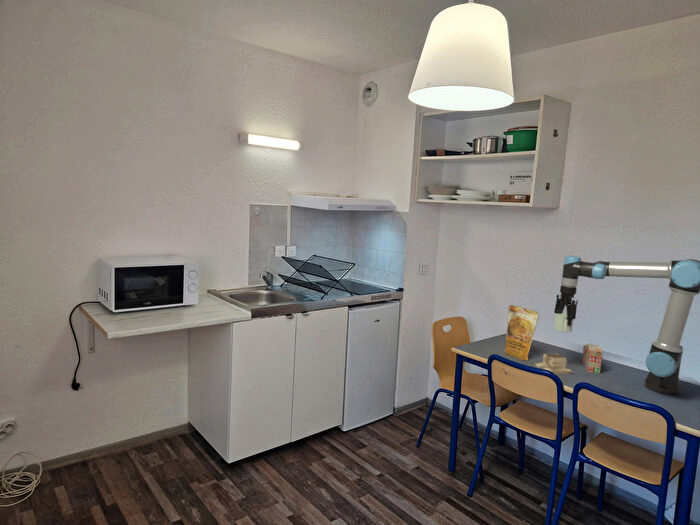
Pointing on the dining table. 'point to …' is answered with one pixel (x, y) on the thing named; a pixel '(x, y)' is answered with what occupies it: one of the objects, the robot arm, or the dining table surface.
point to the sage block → (561, 322)
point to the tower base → (554, 364)
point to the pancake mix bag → (520, 331)
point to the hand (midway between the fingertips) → (562, 329)
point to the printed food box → (592, 358)
